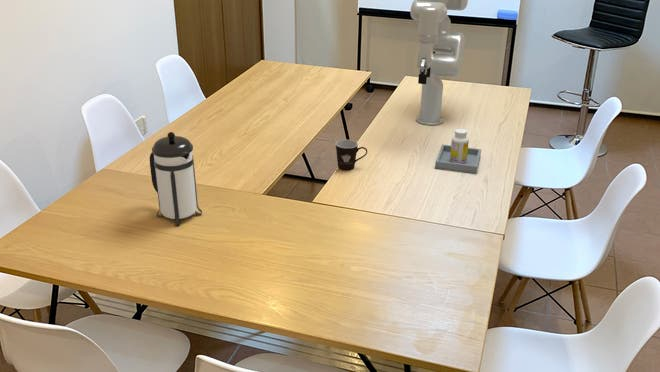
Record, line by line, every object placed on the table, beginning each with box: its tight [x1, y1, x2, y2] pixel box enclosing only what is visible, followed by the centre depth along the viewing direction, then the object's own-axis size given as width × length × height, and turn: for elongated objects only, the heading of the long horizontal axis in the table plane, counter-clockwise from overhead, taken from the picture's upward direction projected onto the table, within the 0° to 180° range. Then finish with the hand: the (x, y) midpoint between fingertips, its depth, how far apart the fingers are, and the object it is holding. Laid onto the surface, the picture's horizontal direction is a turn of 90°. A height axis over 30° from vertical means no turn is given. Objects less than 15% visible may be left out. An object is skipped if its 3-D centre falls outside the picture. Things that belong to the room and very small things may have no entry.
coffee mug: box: [335, 139, 368, 172], centre depth 250 cm, size 12×9×10 cm
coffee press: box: [149, 131, 203, 227], centre depth 210 cm, size 17×16×30 cm
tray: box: [434, 144, 482, 175], centre depth 258 cm, size 18×16×3 cm
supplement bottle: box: [450, 128, 470, 164], centre depth 255 cm, size 7×7×13 cm
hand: (424, 80), depth 261 cm, fingers open, 9 cm apart
